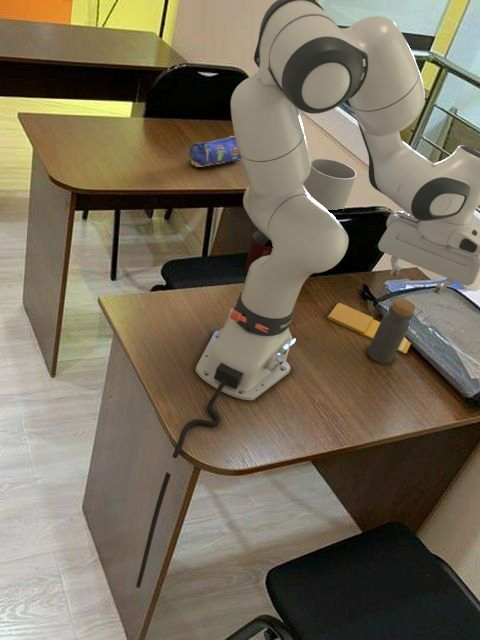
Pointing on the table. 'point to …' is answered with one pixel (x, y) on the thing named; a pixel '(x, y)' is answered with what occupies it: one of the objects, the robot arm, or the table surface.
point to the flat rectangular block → (360, 323)
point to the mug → (257, 248)
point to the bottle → (391, 331)
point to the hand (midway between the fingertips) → (415, 283)
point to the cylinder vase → (330, 183)
